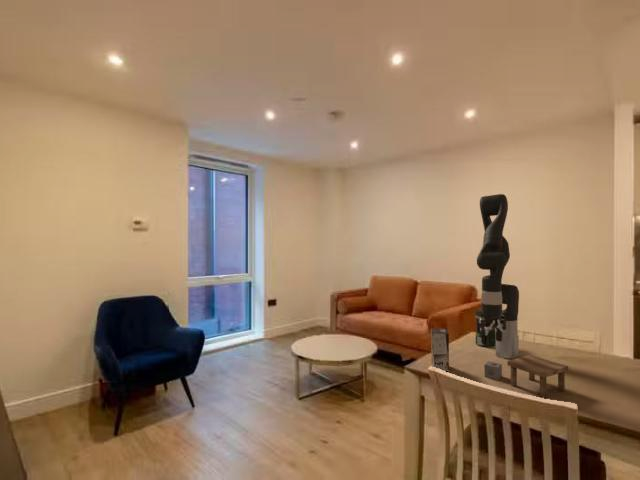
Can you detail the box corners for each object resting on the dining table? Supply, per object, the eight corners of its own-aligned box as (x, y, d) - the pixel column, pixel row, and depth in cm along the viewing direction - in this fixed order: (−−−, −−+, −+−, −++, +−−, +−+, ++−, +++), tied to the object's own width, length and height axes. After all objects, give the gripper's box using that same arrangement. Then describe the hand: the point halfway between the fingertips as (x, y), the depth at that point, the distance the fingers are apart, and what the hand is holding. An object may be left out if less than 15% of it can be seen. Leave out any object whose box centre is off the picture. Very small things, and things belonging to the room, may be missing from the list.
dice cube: (497, 380, 142) (497, 367, 142) (484, 376, 146) (484, 364, 146) (501, 376, 146) (501, 364, 146) (488, 373, 149) (488, 361, 149)
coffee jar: (486, 341, 192) (485, 306, 192) (498, 345, 185) (498, 309, 185) (472, 343, 188) (472, 308, 188) (484, 348, 181) (484, 311, 181)
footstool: (530, 377, 144) (530, 354, 144) (568, 390, 132) (568, 366, 132) (507, 384, 138) (507, 361, 138) (544, 399, 125) (544, 373, 125)
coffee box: (449, 372, 151) (449, 333, 150) (433, 371, 152) (432, 333, 152) (446, 364, 160) (446, 328, 159) (431, 363, 161) (430, 327, 161)
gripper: (495, 299, 152) (495, 337, 152) (471, 302, 145) (471, 342, 146) (511, 301, 145) (512, 342, 145) (487, 305, 139) (487, 348, 139)
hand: (491, 342), depth 145 cm, fingers open, 8 cm apart
